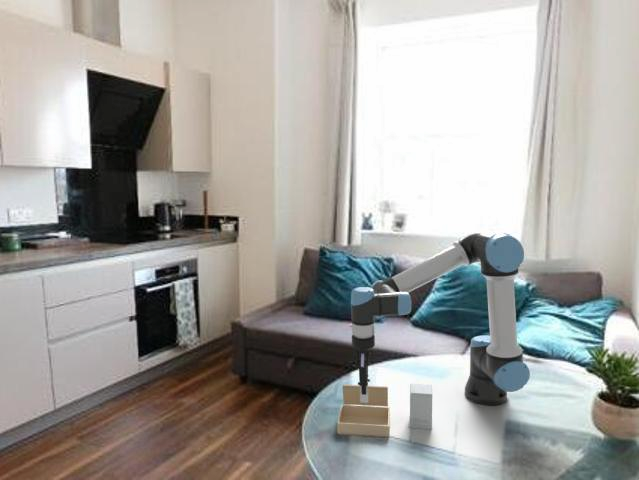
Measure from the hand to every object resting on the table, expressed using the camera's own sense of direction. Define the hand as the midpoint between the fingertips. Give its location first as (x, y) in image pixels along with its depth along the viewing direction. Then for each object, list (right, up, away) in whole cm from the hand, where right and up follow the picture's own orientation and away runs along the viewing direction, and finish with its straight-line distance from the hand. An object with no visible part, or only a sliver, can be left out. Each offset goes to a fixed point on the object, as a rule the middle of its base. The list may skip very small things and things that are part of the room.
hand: (364, 401), depth 160 cm
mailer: (0, -9, +2) cm, 9 cm away
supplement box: (+20, -9, +3) cm, 22 cm away
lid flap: (+1, 0, +6) cm, 6 cm away
